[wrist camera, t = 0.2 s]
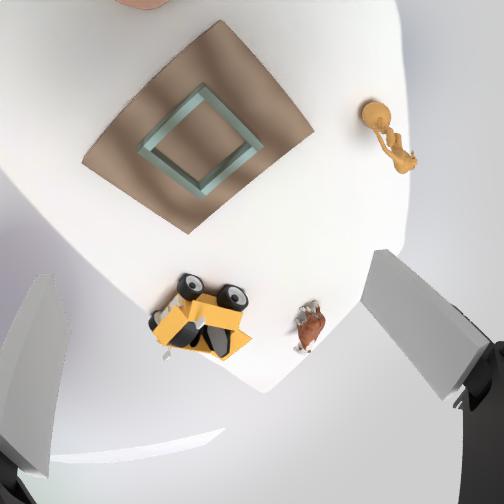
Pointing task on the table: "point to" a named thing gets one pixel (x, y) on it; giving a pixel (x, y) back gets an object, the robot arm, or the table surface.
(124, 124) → the jig board
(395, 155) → the figurine
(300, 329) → the bull figurine
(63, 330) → the robot arm
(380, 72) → the table surface
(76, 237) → the table surface
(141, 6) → the pink rounded cylinder
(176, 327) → the race car
